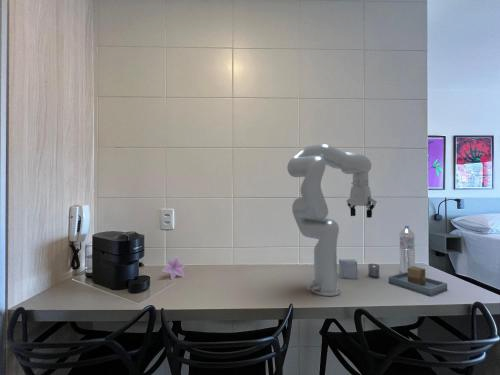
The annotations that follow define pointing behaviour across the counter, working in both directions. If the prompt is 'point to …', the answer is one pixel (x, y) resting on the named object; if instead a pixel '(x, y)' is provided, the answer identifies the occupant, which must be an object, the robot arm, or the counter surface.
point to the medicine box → (348, 268)
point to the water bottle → (406, 249)
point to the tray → (428, 289)
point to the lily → (174, 267)
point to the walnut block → (416, 275)
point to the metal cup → (373, 271)
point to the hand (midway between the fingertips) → (360, 216)
